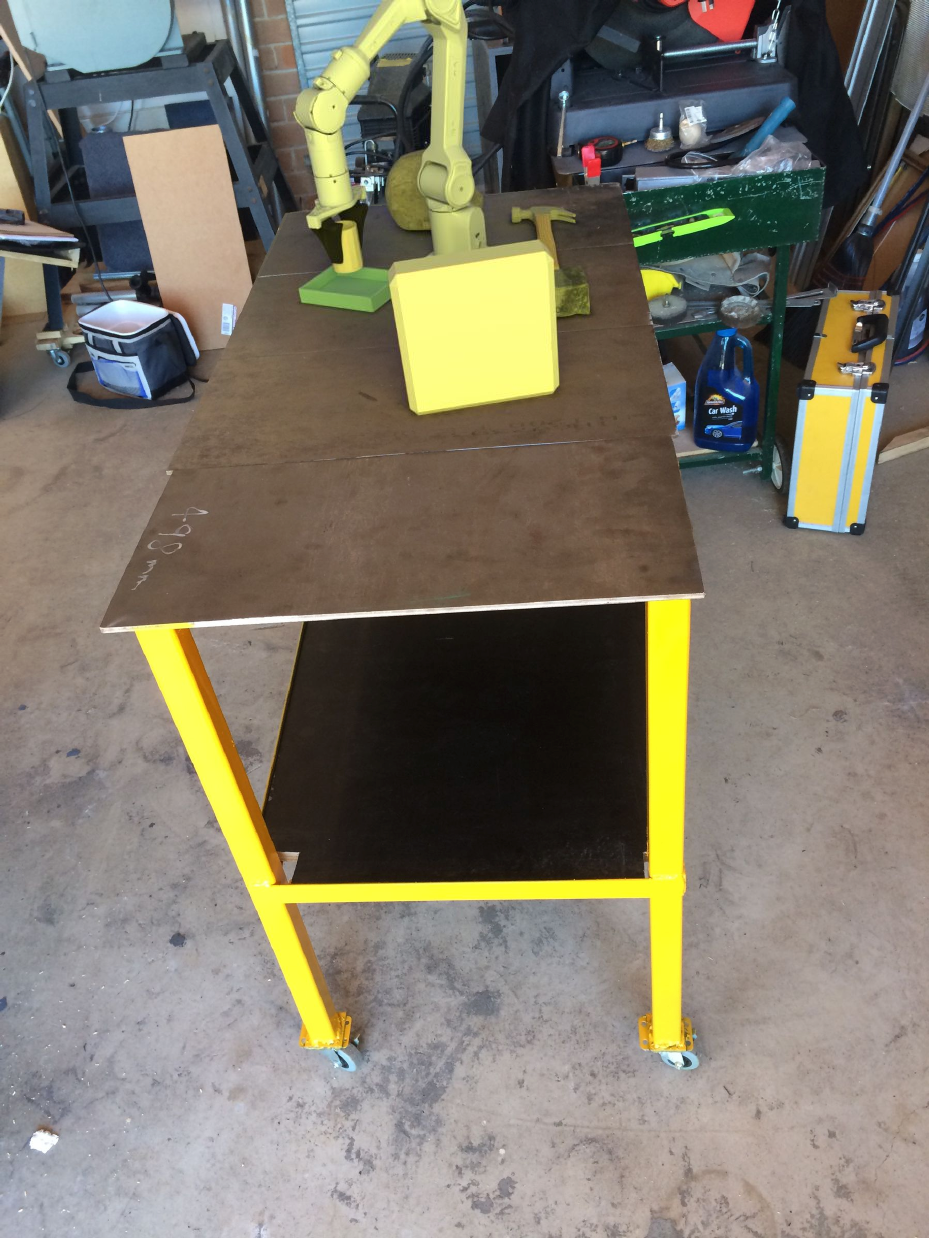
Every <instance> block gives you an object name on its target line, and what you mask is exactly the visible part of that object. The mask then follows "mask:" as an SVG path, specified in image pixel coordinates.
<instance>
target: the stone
mask: <svg viewBox="0 0 929 1238" xmlns="http://www.w3.org/2000/svg"><path fill="white" fill-rule="evenodd" d="M426 149H427V148H423V149H419V150H415V151H412V152H408V153H406V154H403V155H401V156H400V157H399V158H398V159H397V160H396V161H395V163H394V164H393V165H392V166H391V168H390V170H389V172H388V173H387V177H386V181H385V187H384V188H385V189H384V199H385V203H386V207H387V210H388V211H389V214H390V216H391V217H392V220H394V222H395V224H396V225H397V226H398V227H399V228H401V229H402V230H406V231H431V225H430V218H429V210H428V204H427V203H426V197H424V196H423V195H422V194H421V193H420V191H419V189H418V186H417V177H418V173H419V170H420V168H421V164H422V154H423V153H424V151H425V150H426ZM471 172H472V173H473V170H472V169H471ZM470 204H471V205H473V206H476V207H479V208H481V210H482V211H483V205H484V196H483V195H482V193H481V192H480V191H479V190H477V188H475V189H474V194H473V196H472V199H471V200H470Z"/></svg>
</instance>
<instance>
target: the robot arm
mask: <svg viewBox="0 0 929 1238" xmlns="http://www.w3.org/2000/svg"><path fill="white" fill-rule="evenodd" d="M462 2H463V1H462V0H381V1H380V3H379V5H378V7H376V10H375V11H374V13H373V14H372V16H371V17H370V18H369V20H368V21H367V23H366V24H365V26H364V27H363V29H362V31H361V32H360V34H359V35H358V37H357V38H356V40H355V41H354V43H353V45H351V46H349V45H343V46H341V47H340V48H339V49H336V48H335V49H334V50H333V51H332V52H331V54H330V57H331V59H330V61H329V62H328V63H327V65H326V67H325V68H324V69H323V71H322V72H321V74H319V76H315V77H314V78H313V80H312V87H308V88H304V89H303V90H302V91H301V92H300V93H299V94H298V95H297V98H296V101H295V102H296V104H295V110H294V111H293V116H294V119H295V121H296V122H297V124H298V125H299V126H300V127H302V129H303V132H304V137H305V140H306V146H307V149H308V154H309V160H310V165H311V170H312V174H313V179H314V185H315V190H316V194H317V198H316V199H314V204H315V206H314V208H313V209H312V210H311V211H310V212H309V214H307V215H306V216H305V217H306V223H307V226H308V228H309V229H310V230H311V231H312V232H313V233H314V235H315V236H316V237H317V239H318V240H319V241H320V243H321V244H322V246H323V248H324V251H325V252H326V254H327V256H328V258H329V260H330V263H331V264H332V263H334V264H342V263H343V250H342V228H343V223H336V221H335V220H334V219H333V218H334V217H335V216H337V215H338V217H339V219H340V221H342V220H350V221H354V222H355V223H356V224H357V230H358V235H359V241H360V246H361V251H362V250H363V240H364V228H365V222H366V219H367V214H368V212H369V205H368V203H366V202H361V201H362V200H366V199H368V195H367V188H366V186H365V185H358V184H357V185H354V186H352V182H351V176H350V171H349V165H348V160H347V155H346V149H345V142H344V137H343V132H342V127H343V126H344V124H345V121H346V116H347V108H348V107H349V106H350V104H351V102H352V100H353V99H354V98H355V97H356V96H357V94H358V93H359V92H360V90H361V89H362V87H363V86H364V85H365V83H366V82H367V81H368V79H369V78H370V76H371V62H372V61H373V60H374V59H375V58H376V56H377V55H379V53H380V52H381V51H382V49H383V48H384V47H385V46H386V45H387V43H388V42H389V41H390V40H391V39H392V38H393V36H394V35H396V33H397V32H398V31H399V29H400V28H401V27H402V26H403V25H404V24H411V23H414V22H419V23H420V24H421V25H422V27H423V28H424V29H425V30H426V31H427V32H428V33H429V35H430V36H431V37H432V39H433V41H432V42H433V44H432V45H433V47H432V76H431V79H432V81H431V113H430V116H431V117H430V143H429V145H428V147H427V148H425V149H426V150H425V151H424V153H423V154H422V164H421V168H420V170H419V173H418V177H417V186H418V189H419V191H420V193H421V194H422V195H423V196H424V197H426V203H427V204H428V210H429V218H430V225H431V230H430V232H431V240H432V247H433V251H432V252H430V253H428V254H427V255H426V256H425V257H430V256H437V255H443V254H449V253H456V252H462V251H469V250H475V249H481V248H488V247H490V246H489V245H488V244H487V243H488V241H487V233H486V223H485V221H486V220H485V215H484V211H483V209H482V210H481V208H479V207H476V206H473V205H471V204H470V200H471V199H472V196H473V194H474V189H476V186H475V183H476V182H475V179H474V176H473V171H472V172H471V170H472V164H473V163H472V160H471V158H470V157H469V155H468V153H467V151H466V150H465V149H464V147H463V138H464V137H463V135H464V115H465V94H466V72H467V53H468V30H469V27H468V21H467V18H466V14H465V11H464V7H463V3H462Z"/></svg>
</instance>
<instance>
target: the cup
mask: <svg viewBox="0 0 929 1238" xmlns="http://www.w3.org/2000/svg"><path fill="white" fill-rule="evenodd" d="M335 222H336V223H343V228H342V250H343V263H342V264H334V263H331V264H332V265H333V269H334V271H335V272H338V273H350V272H354V271H357V270H359V269H361V268H362V267H364V258H363V253H362V250H361V246H360V241H359V235H358V230H357V224H356V223H355V222H354V221H350V220H342V221H341V220H337V221H335ZM332 265H331V266H332Z"/></svg>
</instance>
